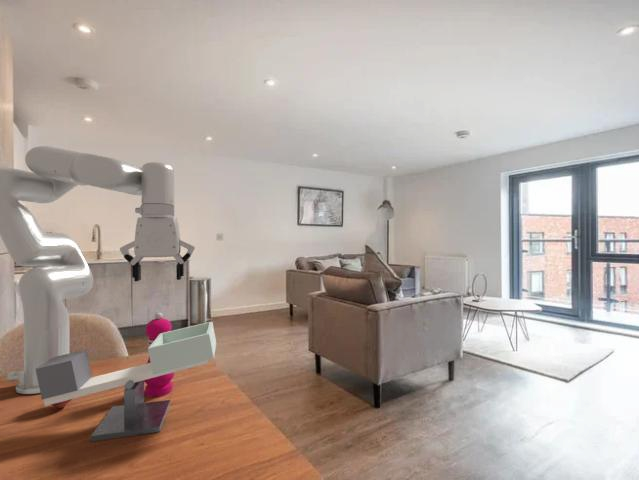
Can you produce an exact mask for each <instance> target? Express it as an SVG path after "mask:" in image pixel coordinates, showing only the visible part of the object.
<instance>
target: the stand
mask: <svg viewBox="0 0 639 480" xmlns="http://www.w3.org/2000/svg"><path fill="white" fill-rule="evenodd" d="M123 403H124V404H123V405H115V406H113V405H112V406H111V408H110V410H109V411H108V412H107V414H106V415H105V416H104V418H102V420H101V421H100V422H99V424H98V425H97V427H96V428H95V429H94V430H93V432H92V433H91V435H90V442H95V441H102V440H111V439H118V438H125V437H131V436H139V435H141V436H142V435H146V434H147V435H148V434H154V433H160V432H161V430H162V426H163V424H164V421H165V419H166V417H167V414H168V411H169V409H170V407H171V399H168V400H158V401H157V400H156V401H149V402H145V382H144V380H142V381H139V382H135V384H134V385H133V387H132V388H131V389H129V390H127V389H126V388H125V387H124V390H123Z"/></svg>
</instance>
